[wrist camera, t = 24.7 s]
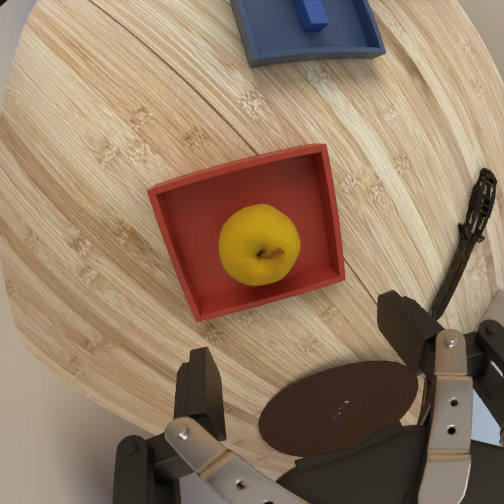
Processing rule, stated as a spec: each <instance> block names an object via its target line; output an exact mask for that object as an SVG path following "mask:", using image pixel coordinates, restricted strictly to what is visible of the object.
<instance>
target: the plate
mask: <svg viewBox="0 0 504 504" xmlns="http://www.w3.org/2000/svg"><path fill="white" fill-rule="evenodd" d="M417 391H418V379H417V377H415V376H414V375H413V373H412V372H411V371H410V369H409V368H408V367H407V366H405V365H403V364H400V363H397V362H390V361H366V362H360V363H353V364H348V365H344V366H340V367H336V368H332V369H329V370H326V371H323V372H321V373H318V374H315V375H312V376H310V377H308V378H306V379H304V380H301V381H299V382H297V383H295V384H293V385H292V386H290V387H288V388H287V389H285V390H284V391H282V392H281V393H279V394H278V395H277V396H276V397H275V398H274V399H272V400H271V401H270V402H269V403H268V404H267V406H266V407H265V409H264V410H263V412H262V413H261V417H260V420H259V430H260V433H261V435H262V437H263V439H264V440H265V441H266V442H267V443H268V444H269V445H270V446H271V447H273V448H274V449H276V450H277V451H280V452H282V453H285V454H288V455H292V456H298V457H309V456H312V455H315V454H319V453H322V452H330V451H338V450H345V449H351V448H353V447H355V446H356V445H358V444H359V443H361V442H362V441H364V440H365V439H366V438H368V437H369V436H371V435H372V434H373V433H375V432H376V431H379V430H381V429H383V428H385V427H387V426H389V425H392V424H394V423H396V422H398V421H399V420H400V419H401V418H402V417H403V416H404V415H405V414H406V412H407V411H408V410H409V408H410V407H411V405H412V403H413V401H414V399H415V397H416V394H417Z"/></svg>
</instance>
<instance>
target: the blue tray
mask: <svg viewBox="0 0 504 504" xmlns="http://www.w3.org/2000/svg"><path fill="white" fill-rule="evenodd" d="M321 2H322V5H323V7H324V10H325V12H326V15H327V18H328V21H329V24H328V25H327V26H326V27H325V28H324V29H323V30H322V31H320V32H303V29H302V26H301V23H300V20H299V17H298V15H297V12H296V9H295V6H294V4H293V1H292V0H230V3H231V6H232V9H233V12H234V16H235V19H236V22H237V25H238V29H239V32H240V35H241V39H242V42H243V46H244V49H245V53H246V56H247V60H248V63H249V67H250V68H253V67H259V66H265V65H272V64H279V63H287V62H296V61H306V60H320V59H341V58H376V57H378V56H381V55H383V54H386V50H385V47H384V44H383V41H382V38H381V35H380V32H379V29H378V26H377V24H376V21H375V18H374V16H373V13H372V10H371V8H370V5H369V3H368V1H367V0H321Z"/></svg>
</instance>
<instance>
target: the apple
mask: <svg viewBox="0 0 504 504" xmlns="http://www.w3.org/2000/svg"><path fill="white" fill-rule="evenodd" d="M218 246H219V254H220V259H221V262H222V265H223V267H224V269H225V270H226V272H227V273H228V274H229V275H230V276H232V277H233V278H234V279H236V280H237V281H239V282H241V283H244V284H246V285H251V286H258V285H264V284H269V283H273V282H276V281H278V280H280V279H282V278H283V277H284V276H286V274H287V273H288V272H289V271H290V269H291V268H292V266H293V265H294V263H295V261H296V259H297V257H298V255H299V252H300V239H299V235H298V232H297V230H296V227H295V225H294V224H293V222H292V221H291V220H290V219H289V218H288V217H287V216H286V215H285V214H283V213H282V212H280V211H279V210H277V209H276V208H274V207H272V206H270V205H268V204H258V205H252V206H248V207H245V208H243V209H241V210H239V211H237V212H236V213H235V214H233V215H232V216H231V217H230V218H229V219H228V220H227V221H226V222H225V224H224V225H223V227H222V229H221V232H220V237H219V245H218Z"/></svg>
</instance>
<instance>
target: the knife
mask: <svg viewBox="0 0 504 504" xmlns="http://www.w3.org/2000/svg"><path fill="white" fill-rule="evenodd" d="M482 175H483V176H485V179H484V180H483V179H482ZM487 178H488V179H487ZM481 181H482V182H483V183H482V185H481V186H480V182H481ZM485 184H486V185H487V186H488V190H487V193H486V195H485V194H484V193H483V192H484V188H485ZM492 184H493V185H492ZM496 184H497V180H496V177H495V176H494V174H493V173H492V172H491V171H490V170H488V169H486V168H483V169H482V170H481V172H480V177H479V180H478V181H477V183H476V185H474V188H473V192H472V195H471V199H470V202H469V209H468V212H467V220H466V223H464V225H462V224H460V223H459V224H458V227H459V231H460V233H461V234H463V235H464V236H463V239H462V241H461V244H460V247H459V249H458V252H457V254H456V257H455V259H454V262H453V264H452V266H451V269H450V271H449V273H448V275H447V278H446V280H445V282H444V284H443V286H442V288H441V291H440V293H439V295H438V297H437V299H436V301H435V303H434V305H433V307H432V317H433V318H434V319H435V320H436V321H437V320H438V319H439V318H440V317H441V316H442V315H443V313H444V311H445V309H446V307H447V305H448V303H449V301H450V299H451V297H452V295H453V293H454V291H455V289H456V287H457V285H458V283H459V281H460V278H461V276H462V274H463V272H464V269H465V267H466V265H467V262H468V260H469V257H470V255H471V252H472V250H473V247H474V244H475V243H476V242H478V243H480V242H482V241H483V240H484V239H485V237H483V236H481V235H482V232H483V230H484V228H485V226H486V224H487V221H488V219H489V217H490V214H491V211H492V208H493V204H494V200H495V193H496ZM491 187H492V188H493V191H492V195H491V194H490V192H491ZM490 195H491V199H490ZM482 198H483V199H485V201H484V202H481V201H482V200H481V199H482ZM481 204H482V205H483V207H482V205H481ZM479 206H480V208H481V209H482V210H481V209H480V208H479ZM473 209H474V212H473V215H472V222H471V224H470V223H469V220H470V217H471V214H472V210H473ZM478 210H479V211H480V212H481V214H480V217H479V220H478V223H477V226H476V229H475V232H474V234H473V233H472V232H470V231H472V228H473V225H474V222H475V219H476V216H477V213H478ZM483 217H485V219H484V222H483V225H482V228H481V230H480V229H478V228H479V226H480V225H481V223H482V220H483ZM468 242H469V243H468ZM467 244H468V245H467ZM466 247H467V248H466ZM464 252H465V253H464ZM460 262H461V263H460ZM459 264H460V265H459ZM458 267H459V268H458ZM457 269H458V270H457ZM456 271H457V272H456ZM454 276H455V277H454ZM453 278H454V279H453ZM452 280H453V281H452ZM448 289H449V290H448ZM447 291H448V292H447ZM444 297H445V298H444ZM443 299H444V300H443ZM442 301H443V302H442ZM441 303H442V304H441ZM440 305H441V306H440ZM439 307H440V308H439ZM434 316H435V317H434Z"/></svg>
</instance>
